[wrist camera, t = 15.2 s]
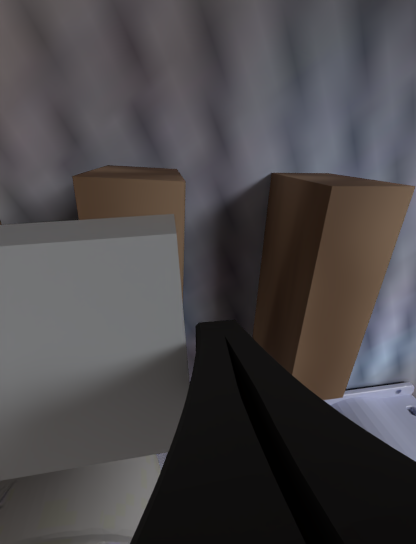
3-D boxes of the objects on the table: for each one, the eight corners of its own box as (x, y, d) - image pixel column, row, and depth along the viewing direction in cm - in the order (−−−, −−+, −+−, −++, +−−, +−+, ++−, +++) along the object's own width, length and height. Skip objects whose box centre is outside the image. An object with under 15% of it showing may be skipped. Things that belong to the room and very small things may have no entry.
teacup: (12, 382, 15) (-116, 583, 8) (186, 400, 18) (201, 559, 11) (1, 510, 20) (-85, 705, 13) (140, 508, 23) (130, 666, 16)
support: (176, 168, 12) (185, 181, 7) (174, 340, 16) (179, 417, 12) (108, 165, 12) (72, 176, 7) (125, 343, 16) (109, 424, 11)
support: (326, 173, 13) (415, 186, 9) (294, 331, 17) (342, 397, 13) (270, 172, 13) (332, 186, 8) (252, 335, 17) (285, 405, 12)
